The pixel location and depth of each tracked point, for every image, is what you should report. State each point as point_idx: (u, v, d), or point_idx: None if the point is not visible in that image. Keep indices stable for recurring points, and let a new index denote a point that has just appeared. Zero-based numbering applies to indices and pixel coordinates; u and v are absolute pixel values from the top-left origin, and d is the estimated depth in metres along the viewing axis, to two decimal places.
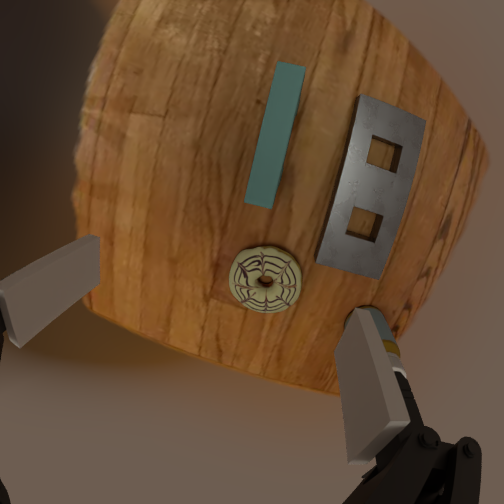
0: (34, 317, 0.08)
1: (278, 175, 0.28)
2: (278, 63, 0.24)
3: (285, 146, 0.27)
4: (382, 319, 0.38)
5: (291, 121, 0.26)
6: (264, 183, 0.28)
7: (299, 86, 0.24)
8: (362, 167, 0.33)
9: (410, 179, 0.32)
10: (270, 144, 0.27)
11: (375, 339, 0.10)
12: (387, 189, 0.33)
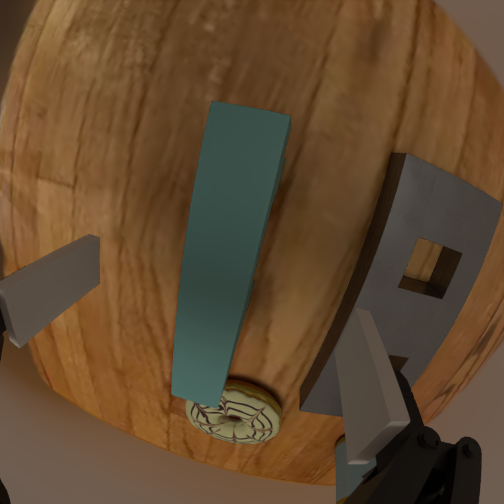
0: (34, 317, 0.08)
1: (224, 371, 0.14)
2: (213, 108, 0.09)
3: (235, 327, 0.12)
4: None
5: (247, 274, 0.11)
6: (200, 379, 0.14)
7: (270, 177, 0.10)
8: (390, 295, 0.18)
9: (460, 304, 0.18)
10: (202, 320, 0.13)
11: (375, 339, 0.10)
12: (423, 323, 0.19)
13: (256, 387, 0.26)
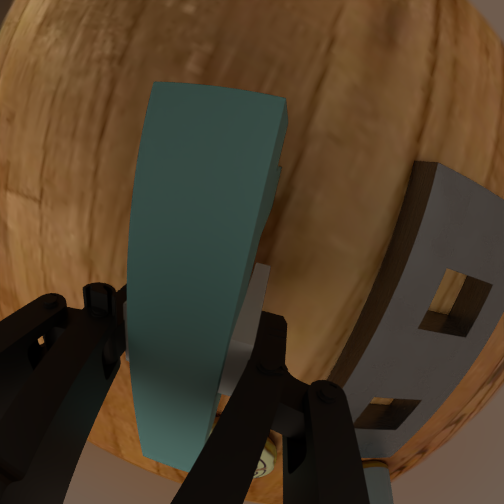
0: None
1: (200, 447, 0.09)
2: (156, 92, 0.05)
3: (207, 409, 0.08)
4: (384, 485, 0.19)
5: (219, 354, 0.07)
6: (172, 449, 0.10)
7: (250, 208, 0.06)
8: (408, 338, 0.14)
9: (484, 340, 0.13)
10: (164, 397, 0.08)
11: (259, 284, 0.12)
12: (442, 364, 0.14)
13: None
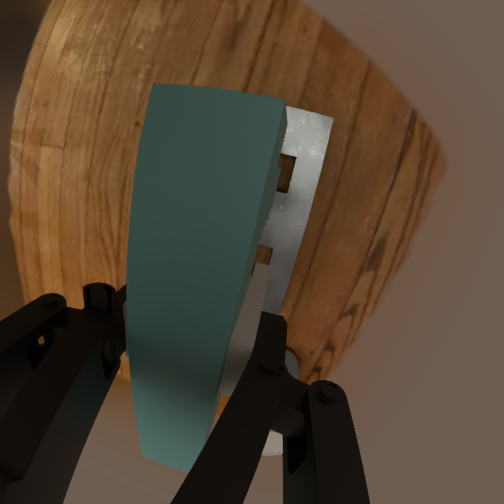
0: None
1: (199, 447, 0.09)
2: (155, 94, 0.05)
3: (207, 410, 0.08)
4: (286, 364, 0.34)
5: (219, 355, 0.07)
6: (172, 450, 0.10)
7: (249, 211, 0.06)
8: None
9: (309, 199, 0.28)
10: (164, 398, 0.08)
11: (259, 284, 0.12)
12: (275, 215, 0.29)
13: None
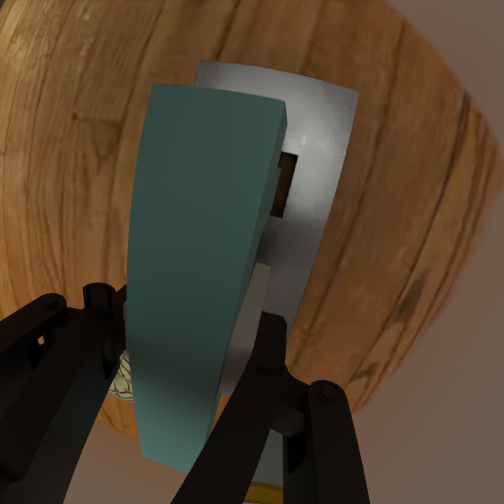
0: None
1: (199, 448, 0.09)
2: (155, 95, 0.05)
3: (207, 410, 0.08)
4: (278, 437, 0.23)
5: (219, 355, 0.07)
6: (172, 450, 0.10)
7: (249, 211, 0.06)
8: None
9: (318, 228, 0.17)
10: (164, 398, 0.08)
11: (259, 284, 0.12)
12: (263, 252, 0.18)
13: None
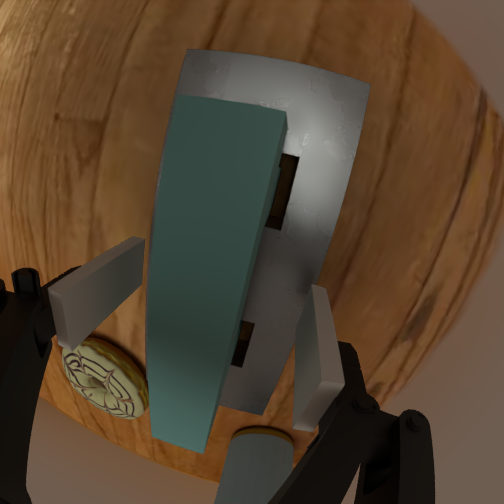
0: (86, 320, 0.10)
1: (207, 422, 0.11)
2: (180, 103, 0.07)
3: (217, 380, 0.10)
4: (276, 459, 0.20)
5: (229, 325, 0.09)
6: (181, 426, 0.11)
7: (257, 199, 0.07)
8: None
9: (323, 242, 0.14)
10: (177, 370, 0.10)
11: (324, 311, 0.11)
12: (258, 269, 0.15)
13: (114, 348, 0.23)
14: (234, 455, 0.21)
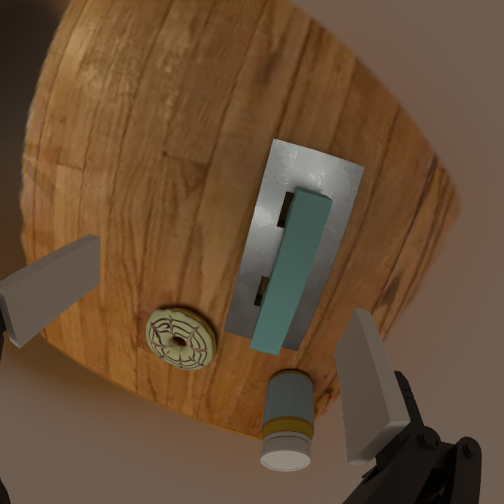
0: (34, 317, 0.08)
1: (287, 327, 0.26)
2: (298, 193, 0.22)
3: (298, 299, 0.24)
4: (303, 388, 0.35)
5: (307, 272, 0.24)
6: (271, 334, 0.26)
7: (322, 228, 0.22)
8: (272, 232, 0.30)
9: (336, 244, 0.30)
10: (280, 296, 0.25)
11: (375, 339, 0.10)
12: None
13: (195, 313, 0.37)
14: (274, 388, 0.36)
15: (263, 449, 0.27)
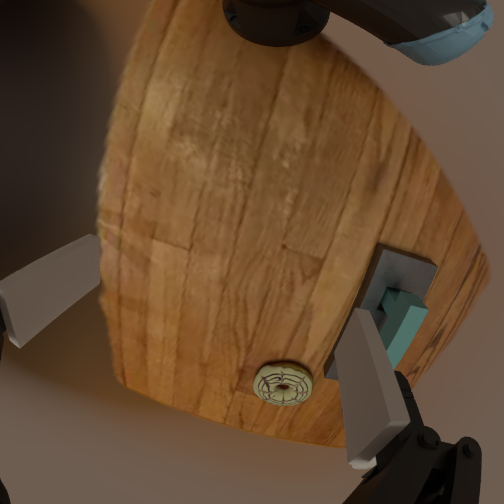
0: (34, 317, 0.08)
1: None
2: (410, 307, 0.29)
3: (396, 364, 0.32)
4: None
5: (405, 349, 0.31)
6: None
7: (419, 325, 0.30)
8: (372, 313, 0.38)
9: None
10: None
11: (375, 339, 0.10)
12: None
13: None
14: None
15: None
